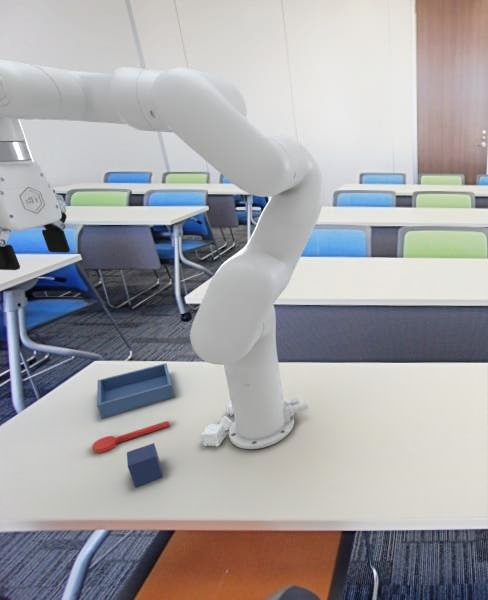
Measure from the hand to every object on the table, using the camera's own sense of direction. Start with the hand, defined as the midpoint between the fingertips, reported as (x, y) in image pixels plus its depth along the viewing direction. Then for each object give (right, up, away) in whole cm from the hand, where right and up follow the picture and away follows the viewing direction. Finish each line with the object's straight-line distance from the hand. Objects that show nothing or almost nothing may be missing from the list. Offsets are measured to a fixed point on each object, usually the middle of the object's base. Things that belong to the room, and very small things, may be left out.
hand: (35, 260), depth 67 cm
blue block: (+15, -39, +5) cm, 42 cm away
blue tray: (-3, -29, +25) cm, 39 cm away
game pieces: (+23, -34, +17) cm, 44 cm away
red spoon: (+6, -35, +13) cm, 38 cm away
